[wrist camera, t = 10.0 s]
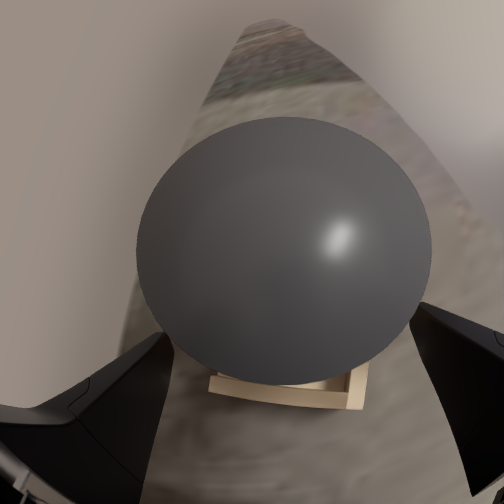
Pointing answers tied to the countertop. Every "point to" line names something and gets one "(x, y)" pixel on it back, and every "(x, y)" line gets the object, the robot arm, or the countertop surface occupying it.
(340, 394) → the divided tray
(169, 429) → the countertop surface
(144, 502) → the countertop surface
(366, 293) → the bobbin
